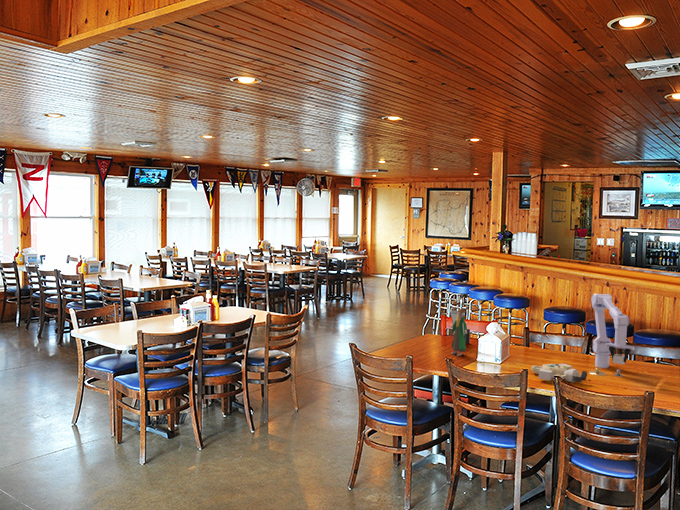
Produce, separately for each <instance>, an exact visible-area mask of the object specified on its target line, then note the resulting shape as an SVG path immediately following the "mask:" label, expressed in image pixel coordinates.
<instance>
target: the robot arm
mask: <svg viewBox="0 0 680 510" xmlns="http://www.w3.org/2000/svg"><path fill="white" fill-rule="evenodd" d="M590 299H591V307H592V309H593V310H594V318H595V327H596V335H597V337H596V338H595V339H593V340H592V351H593V352H594V354H595V358H594V359H595V361H594V365H595V368H600V369H608V368H609V367H610V359H612V362H613V355H615V354H616V353H615V352H616V349H622V350H624V355H625V357H624V362H625V363H627V360H628V357H629V354H630V353H631V351H635V350H636V349H635V348H636V347H635V346H633V345H628V344H627V332H628V326H629V325H630V318H629V316H628V315H627V314H624V313H623V312H622V311H621V310H620V308H619V307H617V306H616V305H615V304H614V303H613V297H612V295H611V294H610V293H604V294H603V293H593V294H592V296H591V298H590ZM606 309H607V310H609V315H610V317H611V318H612V319H613V324H614V325H613V326H614V330H615V332H614V343H613V342H612V340H611V339H610V338H609V337H608V336H607V328H606V319H605V318H606V317H605V310H606ZM610 355H611V358H610ZM625 363H624V364H625Z"/></svg>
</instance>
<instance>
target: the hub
mask: <svg viewBox="0 0 680 510" xmlns="http://www.w3.org/2000/svg"><path fill="white" fill-rule="evenodd" d="M600 369H601V368H600V367H595V370H590V371H588V373H589V374H590V375H592V376H597V377H598V376H599V377H604V376H607V373H606V372H603V371H600Z"/></svg>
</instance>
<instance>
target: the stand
mask: <svg viewBox="0 0 680 510" xmlns="http://www.w3.org/2000/svg"><path fill="white" fill-rule="evenodd" d="M613 377H620V378H622V377H624V374H621V369H616V373H614V374H613Z"/></svg>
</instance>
